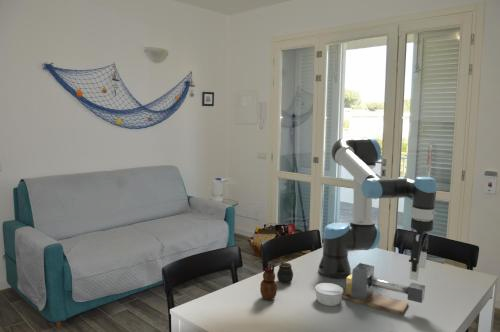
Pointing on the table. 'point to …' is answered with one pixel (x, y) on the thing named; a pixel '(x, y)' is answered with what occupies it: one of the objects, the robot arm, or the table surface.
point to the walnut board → (382, 303)
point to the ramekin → (328, 294)
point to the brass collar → (349, 284)
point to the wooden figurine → (268, 284)
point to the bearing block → (362, 282)
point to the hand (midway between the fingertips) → (417, 273)
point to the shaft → (401, 289)
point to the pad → (345, 293)
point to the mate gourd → (285, 273)
